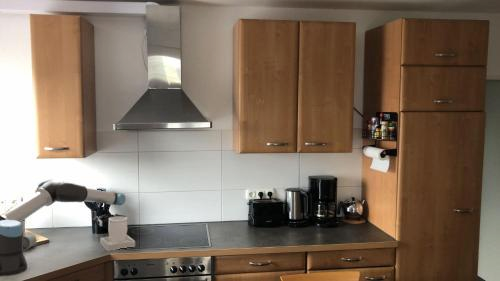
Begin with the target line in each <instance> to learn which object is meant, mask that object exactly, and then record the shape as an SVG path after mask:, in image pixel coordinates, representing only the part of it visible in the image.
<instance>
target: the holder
mask: <svg viewBox="0 0 500 281" xmlns="http://www.w3.org/2000/svg"><path fill="white" fill-rule="evenodd" d="M124 241H125V242H122V243H115V244H110V242H111V240H110V238H109V236H104V237H100V241H99V242H100V243H99V244H100V245H101V246H102V248H104V249H105V250H106V251H107V252H111V251H110V250H113V251H116V250H115V249H120V248H127V247H134V246H135V247H136V240H134V239H133V238H132V237H130V236H129V235H128V234H126V238H125V240H124ZM135 247H134V248H135ZM127 249H128V248H127ZM120 250H121V249H120Z"/></svg>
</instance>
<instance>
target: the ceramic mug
mask: <svg viewBox="0 0 500 281" xmlns="http://www.w3.org/2000/svg"><path fill="white" fill-rule="evenodd" d="M36 243H37V237H36V235H34V234H31V233H29V234H28V233H27V234H25V235H23V251H26V250H28V249H31V248H32V247H34V246H35V245H36Z"/></svg>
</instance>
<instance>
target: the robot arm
mask: <svg viewBox="0 0 500 281" xmlns="http://www.w3.org/2000/svg"><path fill="white" fill-rule="evenodd" d="M37 186H38V187H36V189H35V191H34V192H35V193H34V194H33V193H32V195H30V196H28V197H27V198H26V199H24V200H22V201H21V202H19V203H18V204H16V205H14V206H13V207H11V208H10V209H8V210H7V211H5V212H3V213H2V214H0V276H3V277H5V276H12V275H13V276H14V275H18V274H20V273H23V272H25V271H26V270H27V269H28V262H27V259H26V258H25V255H24V250H23V236H24V226H23V223H22V222H23V221H24V220H25V219H28V218H29V217H31V216H32V215H33V214H35V213H36V212H37V211H39V210H41V209H42V208H44V207H49V206H52V205H53V204H54V203H56V202H59V203H83V202H87V203H88V202H89V203H94V202H96V203H104V204H106V205H107V204H108V205H112V206H113V205H114V206H123V205H124V204H125V203H126V195H125V194H124V193H119V192H112V191H107V189H106V188H104V187H97V188H95V189H93V188H87V187H86V186H85V185H81V184H77V183H73V182H70V181H64V180H63V181H62V180H55V179H44V180H42V181H41V182H40V183H38V185H37ZM97 189H102V190H104V191H101V190H97ZM115 216H123V217H127V215H124V214H118V213H115V214H112V213H111V211H110V210H108V211H107V212H106V214H104V215H101V216H99V217H98V216H94V218H92V221H91V222H92V224H93V225H94V224H95V225H96V226H98V225H99V227H103V223H108V222H109V220H108V219H109V218H110V217H115ZM103 221H104V222H103Z"/></svg>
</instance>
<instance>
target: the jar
mask: <svg viewBox="0 0 500 281" xmlns="http://www.w3.org/2000/svg"><path fill="white" fill-rule="evenodd" d="M108 220H109V221H108V222H109V223H108V228H107V230H108V237H109V238H110V240H111V242H110V244H115V243H122V242H125V241H124V240H125V238H126V234H127V233H128V222H127V221H128V217H127V216H126V217H123V216H115V217H110V218H109V219H108ZM127 235H128V234H127Z"/></svg>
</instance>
